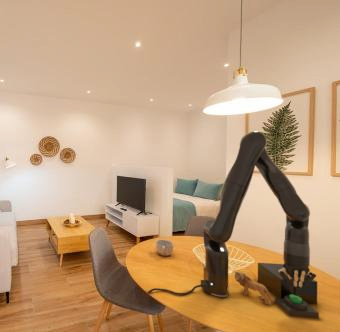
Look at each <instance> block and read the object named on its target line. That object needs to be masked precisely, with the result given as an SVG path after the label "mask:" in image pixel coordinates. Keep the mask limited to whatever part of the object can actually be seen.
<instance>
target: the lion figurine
mask: <svg viewBox="0 0 340 332" xmlns="http://www.w3.org/2000/svg"><path fill="white" fill-rule="evenodd" d="M234 279H235V281H236V282H237V283H239V285H240V286H241V287H243V289H244V292H242V294H243V295H248V293H249V289H250V290H252V291H254V292H258V293H259V294H260V299H261V300H265V301H264V304H265V305H269V304H270V303H272V304H274V305H275V304H276V303H275V301H273V300H272V299H271V296H270V292H269V291H268V290H267V289H266V287H265V286H264V285H262V284H260V283H259V282H256V281H253V280H252V279H251V277H249V276H248V275H246V274H245V273H244V272H243V271H239V270H237V271H235V272H234ZM266 294H267V295H266Z"/></svg>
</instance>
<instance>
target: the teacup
mask: <svg viewBox="0 0 340 332" xmlns="http://www.w3.org/2000/svg"><path fill="white" fill-rule="evenodd" d="M155 243H156V244H155V250H156V252H157V253H158V254H159V255H161V256H164V257H169V256H170V255H172V254H173V253H174V245H175V244H174V242H173V241H171V240H168V239H161V238H159V239H156V241H155Z"/></svg>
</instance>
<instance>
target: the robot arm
mask: <svg viewBox="0 0 340 332" xmlns="http://www.w3.org/2000/svg"><path fill="white" fill-rule="evenodd" d="M267 144H268V140H267V137H266V136H265V134H264V133H263V132H261V131H257V130H254V131H250V132H247V133H245V134H244V135H243V136H242V137H241V139H240V141H239V147H238V152H237V154H236V155H237V156H236V158H235V160H234V162H233V164H232V166H231V167H230V170H229V171H228V173H227V175H226V177H225V179H224V182H223V184H222V187H221V190H220V194H219V195H220V199H219V210H218V213H217V215H216V217H215V218H209V219H207V220H206V221H205V222H204V224H203V246H204V251H205V253H204V254H205V255H204V258H205V259H204V267H203V279H200V284H198V285H195V286H193V287H192V288H191V289H190V290H189V291H186V292H175V291H173V290H171V289H167V288H156V287H155V288H151V289H149V290H148V291H147V294H151V293H152V292H153V291H162V292H168V293H171V294H174V295H177V296H178V295H179V296H185V295H189V294H191V293H193V292H194V291H195V290H196V289H198V288H201V289H202V290H203V292H206V293H207V294H208V295H209V296H214V297H216V298H227V297H229V290H230V285H229V249H228V247H227V245H226V243H227V242H228V241H229V240H230V239H231V237H232V235H233V232H234V228H235V225H236V221H237V217H238V215H239V212H240V209H241V207H242V204H243V202H244V199H245V197H246V196H247V194H248V193H247V192H248V190H249V187H250V186H251V182H252V179H253V175H254V171H255V167H256V169H257V170H258V171H259V173H260V175H261V176H262V178H263V179H264V181H265V183H266V185H267V186H268V188H269V189H270V190H271V192H272V194H273V195H274V197H275V198H276V199H277V201H278V203H279V205H280V207H281V209H282V210H283V213H284V214H285V228H284V241H283V257H282V259H283V264H284V265H283V268H282V269H277V272H278V273H279V274H280V276H281V277H282V278H283V279H284V281H286V282H287V283H288V284H290V291H291V292H292V294H294V295H295V296H300V294H301V287H302V286H307V285H308V284H309V283H310V282H311V281H312V280H315V278H316V277H317V275H316V274H315V273H314V272H312V271H311V270H310V266H311V265H310V264H311V263H310V260H311V258H310V257H311V247H310V229H309V223H310V215H311V210H310V208H309V206H308V204H306V203H305V202H304V201H303V200H302V198H301V197H300V195H299V194H298V192H297V190H296V188H295V186H294V185H293V183H292V182H291V180H290V179H289V178H288V177H287V175H286V174H285V173H284V172H283V171H282V170H281V169H280V167H279V166H278V165H277V164H276V163H275V162H274V161H273V160H272V158H271V156H270V154H268V151H267V149H266V147H267ZM286 272H287V274H288V277H289V278H288V277H287V276H286ZM305 280H306V281H305ZM304 281H305V282H304ZM142 332H144V331H142Z"/></svg>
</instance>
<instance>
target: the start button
mask: <svg viewBox="0 0 340 332" xmlns="http://www.w3.org/2000/svg"><path fill="white" fill-rule="evenodd" d="M290 300H291V301H292V302H294V303H298V304H302V298H301V297H299V296H295V295H292V294H291V295H290Z"/></svg>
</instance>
